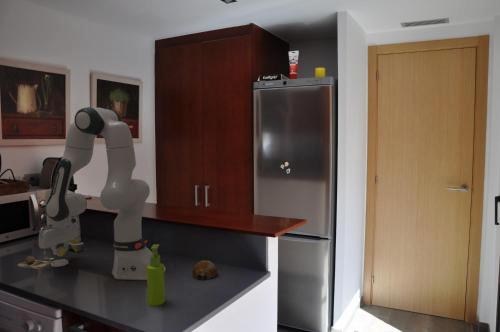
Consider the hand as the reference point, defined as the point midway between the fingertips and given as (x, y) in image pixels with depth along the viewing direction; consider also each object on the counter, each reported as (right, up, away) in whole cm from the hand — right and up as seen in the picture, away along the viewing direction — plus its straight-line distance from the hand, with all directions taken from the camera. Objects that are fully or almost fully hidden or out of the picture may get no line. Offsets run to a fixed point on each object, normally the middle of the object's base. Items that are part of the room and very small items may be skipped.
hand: (60, 252), depth 177 cm
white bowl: (-1, -6, +1) cm, 6 cm away
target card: (-10, -5, +9) cm, 14 cm away
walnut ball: (-14, -5, 0) cm, 15 cm away
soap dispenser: (+53, -9, -39) cm, 66 cm away
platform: (-3, -4, +21) cm, 21 cm away
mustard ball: (0, -2, 0) cm, 2 cm away
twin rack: (-11, -6, -1) cm, 12 cm away
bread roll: (+67, -7, -15) cm, 68 cm away
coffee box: (-13, -3, +37) cm, 39 cm away
